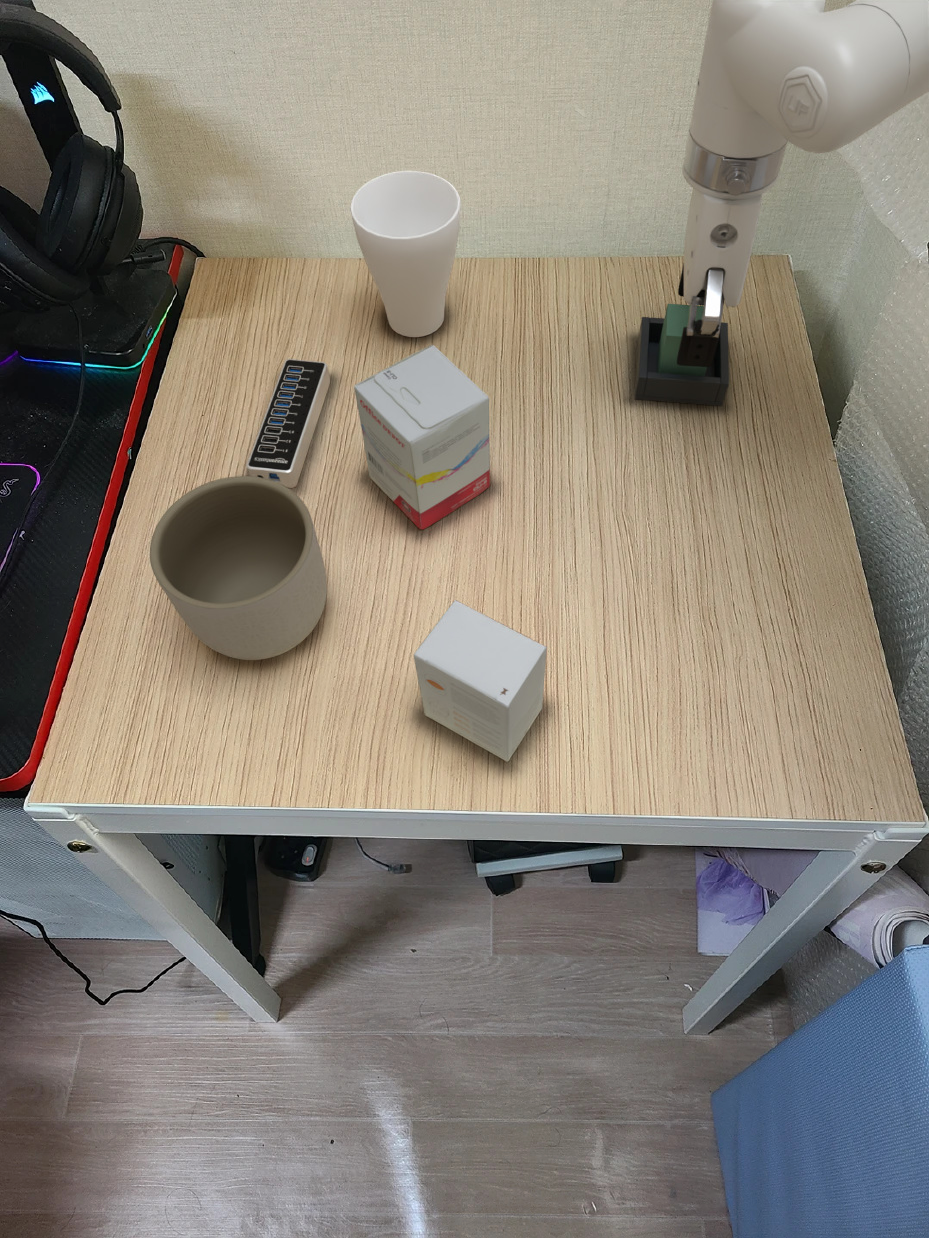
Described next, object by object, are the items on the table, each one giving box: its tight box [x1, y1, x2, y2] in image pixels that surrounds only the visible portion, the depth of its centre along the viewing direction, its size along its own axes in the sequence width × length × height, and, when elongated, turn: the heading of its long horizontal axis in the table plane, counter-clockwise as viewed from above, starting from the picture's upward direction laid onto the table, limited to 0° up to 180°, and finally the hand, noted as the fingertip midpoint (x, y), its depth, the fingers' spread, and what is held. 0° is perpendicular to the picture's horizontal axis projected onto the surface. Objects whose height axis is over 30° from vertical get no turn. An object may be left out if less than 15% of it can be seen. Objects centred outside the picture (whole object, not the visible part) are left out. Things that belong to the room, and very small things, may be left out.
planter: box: [149, 475, 328, 661], centre depth 71 cm, size 12×12×11 cm
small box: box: [413, 599, 547, 763], centre depth 65 cm, size 8×6×10 cm
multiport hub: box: [246, 358, 331, 489], centre depth 85 cm, size 4×14×2 cm, turn 171°
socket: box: [634, 316, 730, 407], centre depth 87 cm, size 9×9×3 cm
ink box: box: [353, 344, 491, 530], centre depth 77 cm, size 9×9×12 cm
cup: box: [349, 170, 462, 338], centre depth 88 cm, size 10×10×14 cm
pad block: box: [657, 303, 707, 376], centre depth 85 cm, size 4×4×6 cm
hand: (693, 328), depth 83 cm, fingers open, 9 cm apart
